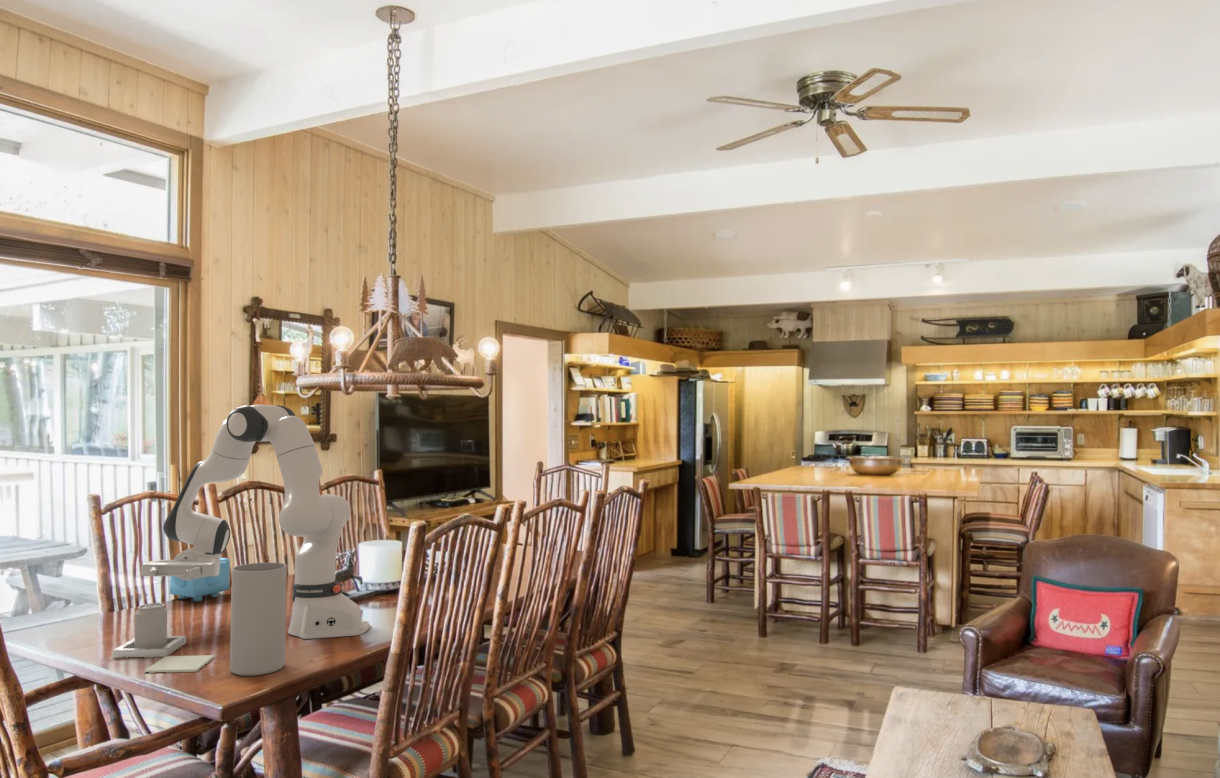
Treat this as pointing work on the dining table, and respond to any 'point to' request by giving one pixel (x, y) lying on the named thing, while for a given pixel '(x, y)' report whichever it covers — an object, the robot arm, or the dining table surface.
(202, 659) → the tile
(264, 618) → the cylinder vase
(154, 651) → the square picture frame
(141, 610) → the can
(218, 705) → the dining table surface
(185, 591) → the teakettle
